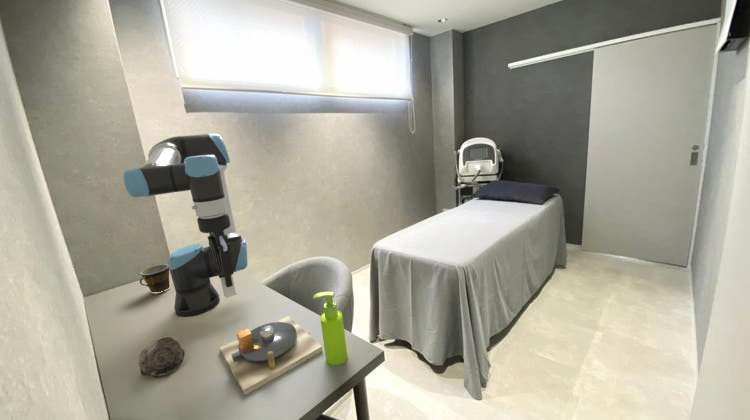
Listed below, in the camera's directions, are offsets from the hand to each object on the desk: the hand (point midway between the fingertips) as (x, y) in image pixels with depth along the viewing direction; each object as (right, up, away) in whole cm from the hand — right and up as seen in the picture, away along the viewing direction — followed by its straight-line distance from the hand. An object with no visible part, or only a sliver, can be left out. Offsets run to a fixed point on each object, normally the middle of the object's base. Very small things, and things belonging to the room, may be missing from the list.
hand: (230, 295), depth 89 cm
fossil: (-19, -21, 0) cm, 28 cm away
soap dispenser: (+30, -17, -1) cm, 34 cm away
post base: (+10, -17, +3) cm, 20 cm away
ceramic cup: (-52, -11, +46) cm, 70 cm away
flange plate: (+9, -15, +2) cm, 18 cm away
